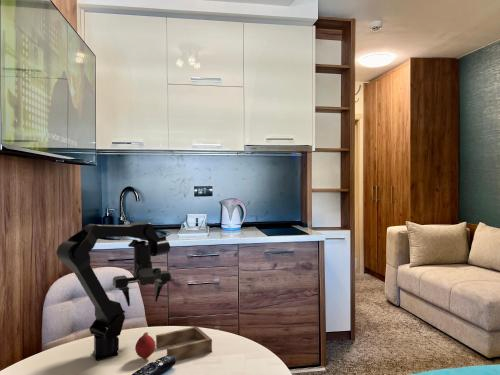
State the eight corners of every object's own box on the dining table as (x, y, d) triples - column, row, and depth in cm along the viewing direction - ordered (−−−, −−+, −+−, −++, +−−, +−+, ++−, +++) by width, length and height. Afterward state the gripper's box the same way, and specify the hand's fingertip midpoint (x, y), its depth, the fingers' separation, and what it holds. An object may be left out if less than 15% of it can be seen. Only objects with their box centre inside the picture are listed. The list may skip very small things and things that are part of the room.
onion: (148, 364, 105) (149, 337, 105) (131, 362, 106) (131, 335, 106) (158, 355, 110) (158, 329, 111) (141, 353, 112) (142, 328, 112)
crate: (168, 363, 106) (168, 349, 106) (156, 347, 116) (156, 335, 116) (211, 351, 113) (211, 339, 113) (196, 337, 124) (196, 326, 124)
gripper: (119, 266, 111) (119, 315, 111) (176, 259, 121) (176, 305, 121) (112, 259, 121) (112, 305, 121) (166, 254, 131) (166, 297, 131)
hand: (142, 303), depth 123 cm, fingers open, 9 cm apart
